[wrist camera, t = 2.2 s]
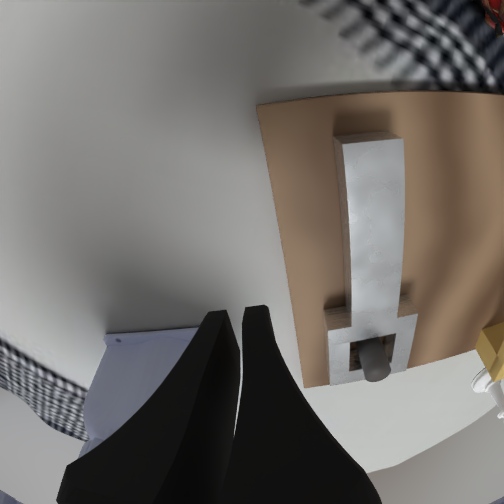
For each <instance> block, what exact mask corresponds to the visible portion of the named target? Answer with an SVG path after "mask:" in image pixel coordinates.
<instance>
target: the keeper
mask: <svg viewBox="0 0 504 504" xmlns="http://www.w3.org/2000/svg"><path fill="white" fill-rule="evenodd" d="M475 348H476V350H477V352H478V354H479V356H480V358H481V359H482V361H483V363H484V365H485V367H486V369H487V371H488V373H489V375H490V377H491V379H492V381H493V382H496V381H498V380H501V379H503V378H504V322H502V323H499V324H496V325H494V326H491V327H487V328H484V329H482V330H481V333H480V335H479V338H478V341H477V343H476V346H475Z"/></svg>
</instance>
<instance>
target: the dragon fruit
mask: <svg viewBox="0 0 504 504" xmlns="http://www.w3.org/2000/svg"><path fill="white" fill-rule="evenodd" d="M471 1H472V0H471ZM481 1H482V4H483V7H484V9H485V12H486V14H485V21H486V23H487V24H488V25H489V26H491V27H492V28H494V29H495V32H496V37H500V36H501V35H503V34H504V0H481Z"/></svg>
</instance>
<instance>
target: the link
mask: <svg viewBox="0 0 504 504" xmlns="http://www.w3.org/2000/svg"><path fill="white" fill-rule="evenodd" d="M333 141H334V149H335V157H336V166H337V176H338V186H339V197H340V208H341V222H342V236H343V254H344V276H345V306H342V307H336V308H330V309H324V310H323V314H324V328H325V344H326V363H327V371H328V376H329V382H330V386H332V385H338V384H344V383H349V382H355V381H360V380H365V376H364V372H363V368H362V365H361V361H360V357H359V354H358V350H357V349H355V350H350V342H354V341H359V340H365V339H370V338H375V337H380V336H385V343H384V344H383V347H384V350H385V352H386V355H387V358H388V361H389V364H390V367H391V372H390V374H393V373H397V372H401V371H405V370H406V369H407V364H408V360H409V356H410V351H411V347H412V342H413V337H414V332H415V327H416V322H417V317H418V312H417V310H416V308H415V307H414V305H413V303H412V301H411V299H410V297H409V295H408V294H406V295H401V296H400V286H401V275H402V262H403V246H404V222H405V165H404V142H403V138H401V137H399V136H398V135H396V134H394V133H392V132H390V131H377V132H366V133H356V134H347V135H338V136H333Z"/></svg>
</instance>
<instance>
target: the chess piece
mask: <svg viewBox="0 0 504 504" xmlns="http://www.w3.org/2000/svg"><path fill="white" fill-rule="evenodd" d="M500 383H501V380H498V381H496V382H493V381H492V379H491V377H490V375H489V373H488V371H487V369H486V368H485V369H484V370H482V371H481V372H480V373H479V374H478V375H477V376H476V377H475V378H474V380H473V381H472V384H471V387H472V389H473V390H474V392H476V393H481V392H484V391H485V392H489V394H490V395H491V396H492V398H493V399H494V401H495V403H496V404H497V406H498V407H499V409H500V411H501V412H500V413H499V414H498V416H497V417H498V418H504V395H503V392H502V389H501V386H500Z"/></svg>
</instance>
